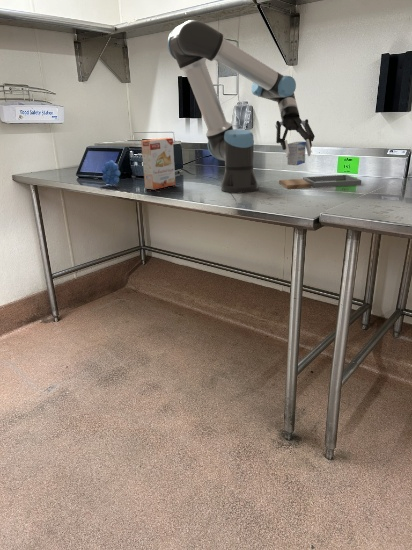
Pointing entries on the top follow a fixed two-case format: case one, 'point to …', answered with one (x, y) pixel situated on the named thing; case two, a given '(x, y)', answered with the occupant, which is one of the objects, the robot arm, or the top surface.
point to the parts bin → (349, 182)
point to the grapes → (111, 172)
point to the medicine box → (296, 153)
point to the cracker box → (158, 163)
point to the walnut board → (294, 183)
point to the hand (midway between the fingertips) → (298, 154)
